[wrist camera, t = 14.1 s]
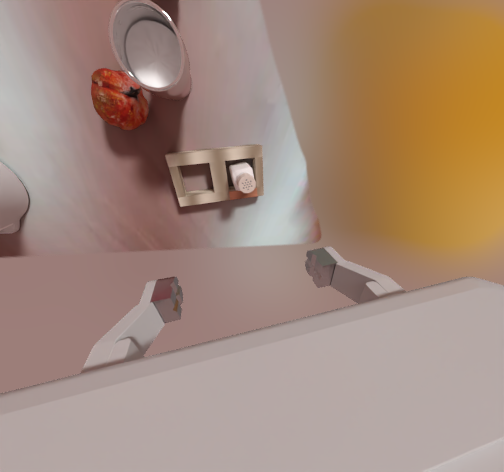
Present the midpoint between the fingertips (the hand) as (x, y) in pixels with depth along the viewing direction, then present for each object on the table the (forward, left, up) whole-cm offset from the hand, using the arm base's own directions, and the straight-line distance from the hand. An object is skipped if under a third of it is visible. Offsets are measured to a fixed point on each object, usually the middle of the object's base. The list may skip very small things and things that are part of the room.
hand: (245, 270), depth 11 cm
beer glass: (-5, +14, -33) cm, 36 cm away
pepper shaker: (+4, -2, -33) cm, 33 cm away
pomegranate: (-13, +11, -33) cm, 37 cm away
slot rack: (0, -2, -33) cm, 33 cm away
